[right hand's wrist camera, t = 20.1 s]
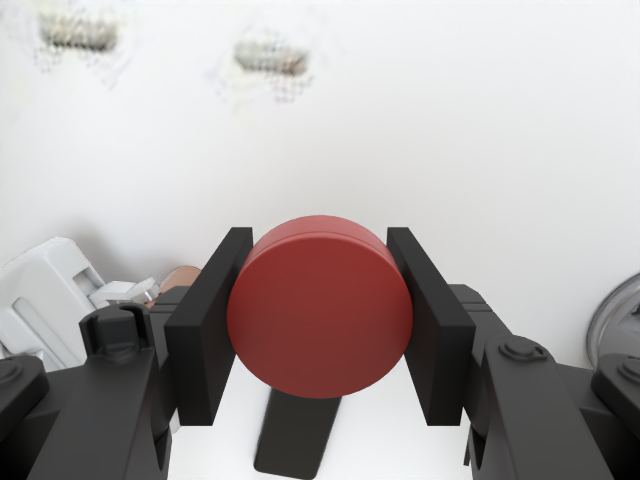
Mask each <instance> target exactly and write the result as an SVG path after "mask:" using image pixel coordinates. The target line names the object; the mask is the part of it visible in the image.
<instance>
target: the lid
mask: <svg viewBox="0 0 640 480" xmlns="http://www.w3.org/2000/svg"><path fill="white" fill-rule="evenodd" d="M226 316H227V328H228V334H229V338H230V341H231V344H232V346H233V348H234V350H235V352H236V354H237V356H238V357H239V359H240V360H241V362H242V363H243V364H244V365H245V366H246V368H247V369H248V370H249V371H250V372H251V373H252V374H254V375H255V376H256V377H257V378H259V379H260V380H261V381H263V382H264V383H266V384H268V385H269V386H271V387H273V388H275V389H277V390H280V391H282V392H285V393H288V394H291V395H295V396H300V397H305V398H333V397H340V396H344V395H349V394H352V393H355V392H358V391H360V390H362V389H365V388H367V387H369V386H371V385H372V384H374V383H375V382H377V381H379V380H380V379H381V378H383V377H384V376H385V375H386V374H387V373H389V371H390V370H391V369H392V368H393V367H394V366H395V365H396V364H397V363H398V361H399V360H400V358H401V357H402V355H403V354H404V352H405V350H406V348H407V346H408V343H409V340H410V338H411V333H412V325H413V305H412V301H411V296H410V293H409V291H408V289H407V286H406V284H405V282H404V280H403V277H402V275H401V273H400V271H399V269H398V267H397V265H396V263H395V260H394V258H393V257H392V255H391V253H390V251H389V250H388V248H387V247H386V246H385V245H384V243H383V242H382V241H381V240H380V239H379V238H378V237H377V236H376V235H375V234H373V233H372V232H370V231H369V230H368V229H366V228H365V227H363V226H361V225H359V224H357V223H355V222H352V221H349V220H347V219H343V218H339V217H334V216H325V215H318V216H306V217H300V218H297V219H293V220H290V221H288V222H285V223H283V224H281V225H279V226H277V227H275V228H274V229H272V230H270V231H269V232H268V233H267V234H265V235H264V236H263V237H262V238H261V239H260V240H259V241H258V242H257V243H256V244H255V245H254V247H253V248H252V250H251V251H250V252H249V254H248V256H247V258H246V260H245V262H244V264H243V266H242V269H241V271H240V273H239V275H238V277H237V279H236V281H235V284H234V286H233V288H232V290H231V293H230V296H229V299H228V304H227V311H226Z"/></svg>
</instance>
